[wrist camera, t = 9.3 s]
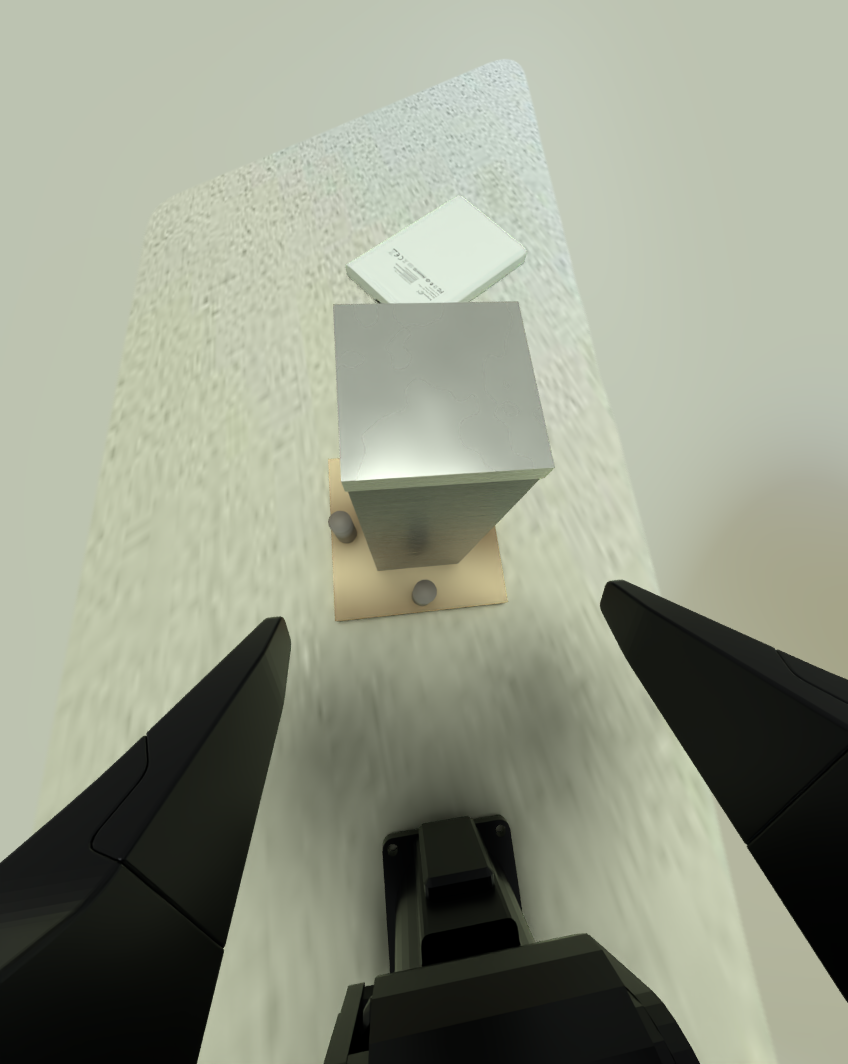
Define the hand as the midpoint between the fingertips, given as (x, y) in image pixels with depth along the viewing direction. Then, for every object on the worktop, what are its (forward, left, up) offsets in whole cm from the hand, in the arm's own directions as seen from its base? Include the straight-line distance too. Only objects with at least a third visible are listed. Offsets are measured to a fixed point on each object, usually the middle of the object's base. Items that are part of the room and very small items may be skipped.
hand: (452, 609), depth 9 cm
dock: (+5, 0, -11) cm, 13 cm away
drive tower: (+5, 0, -10) cm, 12 cm away
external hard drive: (+27, -4, -12) cm, 30 cm away
